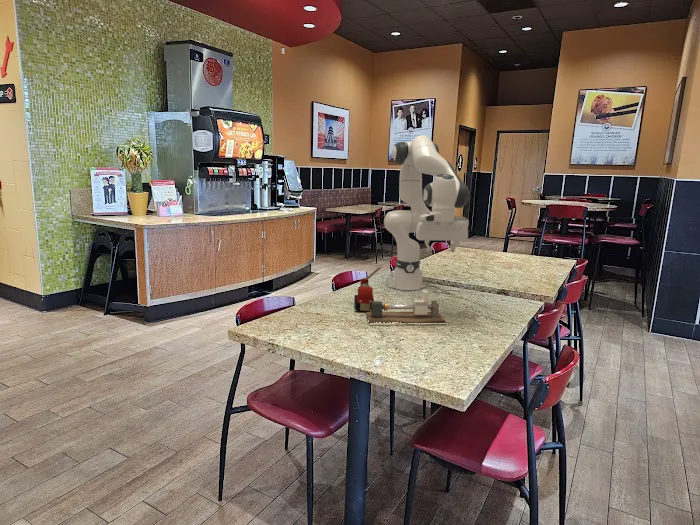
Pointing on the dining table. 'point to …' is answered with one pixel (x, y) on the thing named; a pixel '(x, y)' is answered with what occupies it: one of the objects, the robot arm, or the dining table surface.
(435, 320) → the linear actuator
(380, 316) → the rod
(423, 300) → the sleeve
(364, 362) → the dining table surface
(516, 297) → the dining table surface
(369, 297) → the toy fire truck
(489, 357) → the dining table surface
